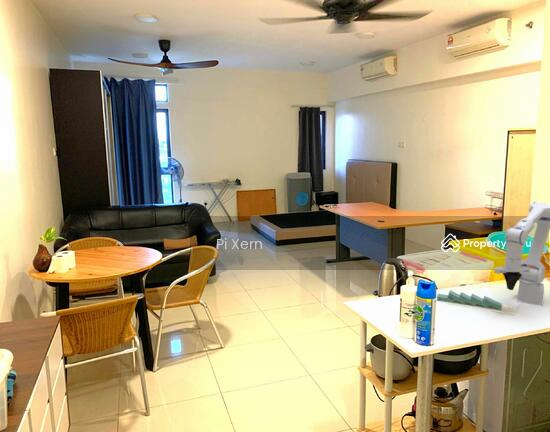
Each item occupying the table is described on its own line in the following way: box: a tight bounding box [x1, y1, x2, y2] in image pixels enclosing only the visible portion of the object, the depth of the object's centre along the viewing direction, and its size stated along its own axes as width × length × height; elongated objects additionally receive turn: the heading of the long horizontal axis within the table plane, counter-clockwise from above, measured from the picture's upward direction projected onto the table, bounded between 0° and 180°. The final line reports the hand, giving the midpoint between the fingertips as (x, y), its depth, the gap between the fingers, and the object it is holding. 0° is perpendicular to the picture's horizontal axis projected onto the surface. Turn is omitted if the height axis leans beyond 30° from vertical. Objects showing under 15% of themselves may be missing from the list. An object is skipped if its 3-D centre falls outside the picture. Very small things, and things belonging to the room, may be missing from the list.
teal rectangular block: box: [459, 291, 477, 306], centre depth 180 cm, size 2×4×7 cm
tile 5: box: [436, 293, 454, 303], centre depth 184 cm, size 2×4×7 cm
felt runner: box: [445, 300, 516, 316], centre depth 178 cm, size 26×9×1 cm, turn 65°
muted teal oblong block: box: [447, 289, 466, 304], centre depth 182 cm, size 2×4×7 cm
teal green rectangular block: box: [482, 295, 503, 310], centre depth 176 cm, size 2×4×7 cm
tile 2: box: [470, 293, 489, 308], centre depth 178 cm, size 2×4×7 cm
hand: (510, 289), depth 172 cm, fingers closed
